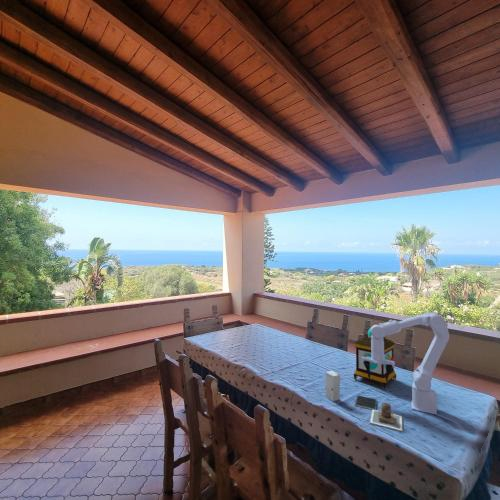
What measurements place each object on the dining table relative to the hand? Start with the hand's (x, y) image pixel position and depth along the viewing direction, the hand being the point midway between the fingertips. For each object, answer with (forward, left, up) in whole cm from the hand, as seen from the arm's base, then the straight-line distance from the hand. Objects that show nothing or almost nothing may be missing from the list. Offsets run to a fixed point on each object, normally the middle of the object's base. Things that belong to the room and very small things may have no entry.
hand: (378, 378), depth 136 cm
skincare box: (+20, +8, -11) cm, 24 cm away
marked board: (-4, +17, -10) cm, 20 cm away
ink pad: (+5, +6, -10) cm, 13 cm away
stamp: (-4, +17, -10) cm, 20 cm away
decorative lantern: (+3, -25, -11) cm, 27 cm away
